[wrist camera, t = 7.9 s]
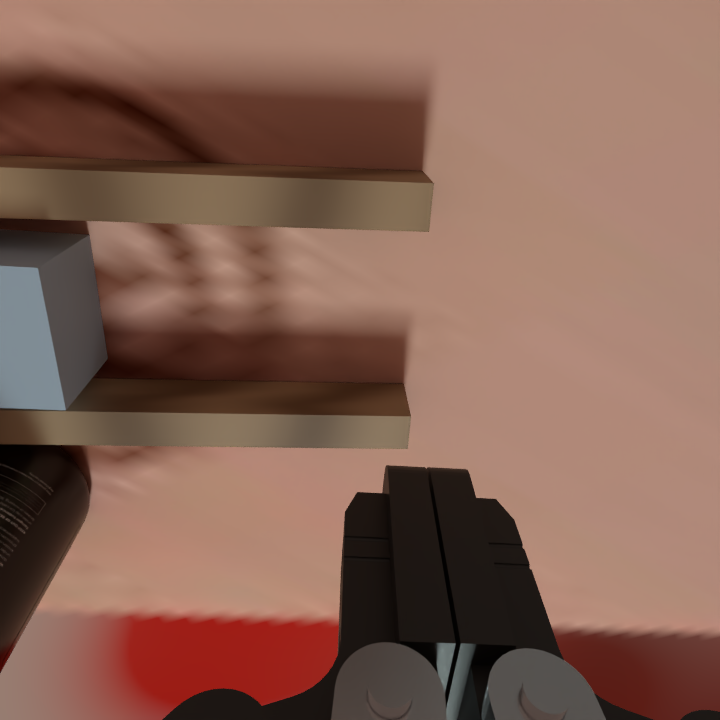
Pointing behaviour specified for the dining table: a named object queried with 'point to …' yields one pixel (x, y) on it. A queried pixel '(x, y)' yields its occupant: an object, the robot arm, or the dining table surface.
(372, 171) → the track
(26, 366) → the block
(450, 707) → the robot arm
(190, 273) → the dining table surface
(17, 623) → the supplement bottle
